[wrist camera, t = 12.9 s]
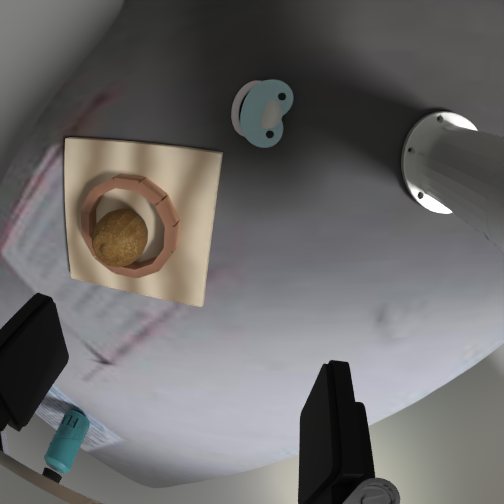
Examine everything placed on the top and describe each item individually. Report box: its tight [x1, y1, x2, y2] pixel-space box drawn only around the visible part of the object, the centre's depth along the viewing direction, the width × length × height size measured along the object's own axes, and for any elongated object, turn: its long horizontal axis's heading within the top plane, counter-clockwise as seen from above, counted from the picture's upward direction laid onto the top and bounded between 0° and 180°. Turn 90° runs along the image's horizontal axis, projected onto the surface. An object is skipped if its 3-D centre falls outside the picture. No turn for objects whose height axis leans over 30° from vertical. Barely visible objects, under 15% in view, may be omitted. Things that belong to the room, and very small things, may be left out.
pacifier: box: [231, 79, 293, 148], centre depth 30 cm, size 7×6×6 cm
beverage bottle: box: [42, 410, 90, 484], centre depth 51 cm, size 6×7×20 cm
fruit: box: [92, 209, 148, 267], centre depth 34 cm, size 6×6×8 cm
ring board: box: [64, 137, 223, 307], centre depth 37 cm, size 20×20×3 cm
